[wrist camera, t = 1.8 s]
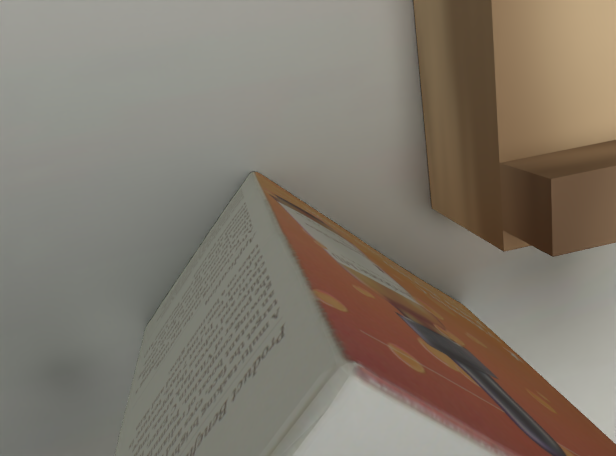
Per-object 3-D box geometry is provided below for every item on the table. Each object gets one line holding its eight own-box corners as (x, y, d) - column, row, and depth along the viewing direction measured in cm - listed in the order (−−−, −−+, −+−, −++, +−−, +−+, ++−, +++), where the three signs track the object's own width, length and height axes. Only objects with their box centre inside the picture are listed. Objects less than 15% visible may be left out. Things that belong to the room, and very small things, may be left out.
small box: (465, 304, 17) (833, 630, 7) (360, 442, 18) (563, 915, 8) (249, 161, 15) (355, 354, 5) (137, 327, 15) (23, 804, 5)
